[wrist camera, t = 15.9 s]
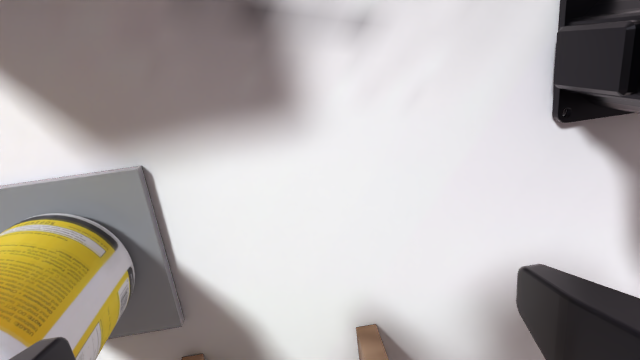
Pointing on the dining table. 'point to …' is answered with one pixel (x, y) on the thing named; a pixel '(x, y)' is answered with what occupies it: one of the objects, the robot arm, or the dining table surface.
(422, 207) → the dining table surface
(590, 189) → the dining table surface
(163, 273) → the coaster
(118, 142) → the dining table surface
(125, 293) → the pill bottle
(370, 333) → the shelf bay
